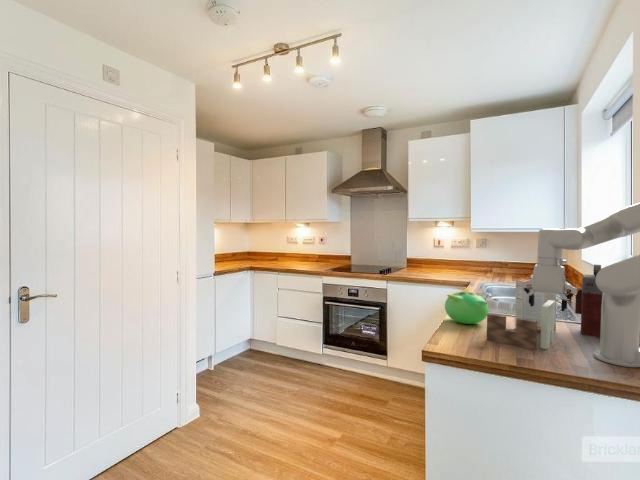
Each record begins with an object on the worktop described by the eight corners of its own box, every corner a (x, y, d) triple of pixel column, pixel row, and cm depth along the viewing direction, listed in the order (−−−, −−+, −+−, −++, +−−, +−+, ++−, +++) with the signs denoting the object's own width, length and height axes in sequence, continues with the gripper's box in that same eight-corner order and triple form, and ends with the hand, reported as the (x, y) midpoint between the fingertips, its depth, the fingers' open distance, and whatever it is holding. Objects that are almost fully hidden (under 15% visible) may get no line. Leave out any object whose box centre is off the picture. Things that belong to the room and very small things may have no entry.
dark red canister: (575, 328, 147) (577, 262, 145) (609, 333, 139) (612, 264, 138) (573, 333, 140) (575, 264, 138) (609, 339, 132) (612, 266, 131)
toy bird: (487, 320, 158) (488, 288, 158) (488, 331, 143) (489, 295, 142) (446, 316, 166) (446, 286, 165) (443, 325, 150) (443, 292, 150)
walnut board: (536, 348, 123) (537, 320, 123) (535, 350, 121) (535, 322, 121) (488, 338, 134) (489, 312, 133) (486, 340, 132) (487, 314, 131)
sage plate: (553, 339, 132) (554, 300, 132) (547, 349, 122) (548, 307, 121) (547, 338, 134) (548, 300, 133) (540, 347, 123) (541, 306, 123)
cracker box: (546, 327, 147) (547, 279, 147) (556, 331, 141) (557, 281, 140) (514, 328, 147) (515, 279, 146) (522, 332, 141) (524, 281, 140)
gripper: (579, 263, 123) (577, 310, 124) (524, 259, 135) (523, 302, 136) (577, 265, 118) (574, 314, 119) (520, 260, 129) (518, 305, 130)
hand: (547, 308), depth 127 cm, fingers open, 9 cm apart
